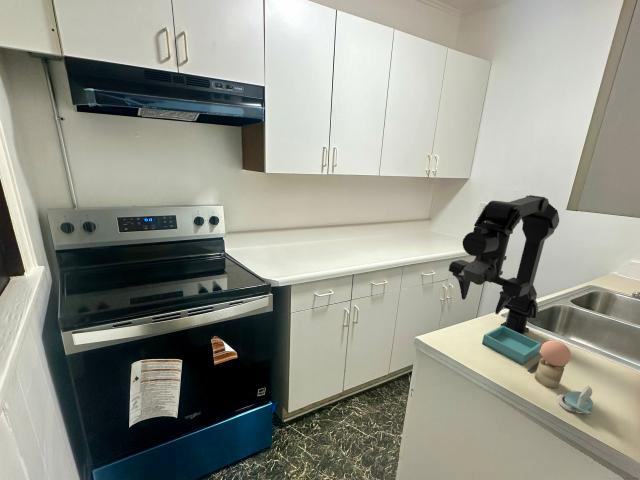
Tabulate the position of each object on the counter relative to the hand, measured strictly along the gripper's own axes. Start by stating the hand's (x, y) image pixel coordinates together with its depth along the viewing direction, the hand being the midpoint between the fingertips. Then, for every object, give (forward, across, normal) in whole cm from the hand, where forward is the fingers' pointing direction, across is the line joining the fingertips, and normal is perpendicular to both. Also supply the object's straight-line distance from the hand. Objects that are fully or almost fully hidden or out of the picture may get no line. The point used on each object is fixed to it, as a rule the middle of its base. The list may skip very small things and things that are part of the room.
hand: (479, 306), depth 85 cm
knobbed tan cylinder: (+15, +17, +7) cm, 23 cm away
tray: (+15, +5, +14) cm, 21 cm away
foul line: (+15, +13, +14) cm, 24 cm away
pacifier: (+15, +24, +3) cm, 28 cm away
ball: (+6, +17, +7) cm, 19 cm away
